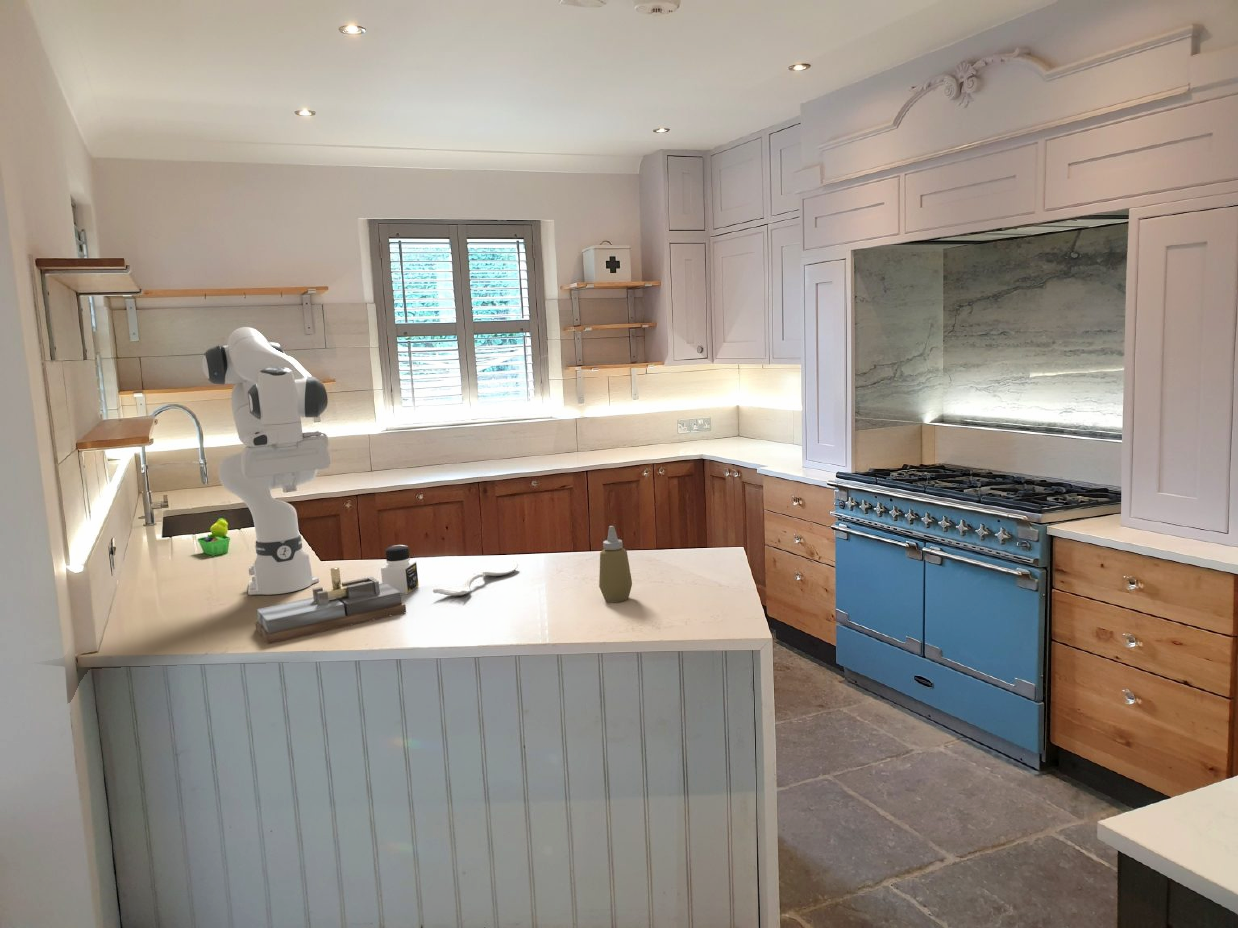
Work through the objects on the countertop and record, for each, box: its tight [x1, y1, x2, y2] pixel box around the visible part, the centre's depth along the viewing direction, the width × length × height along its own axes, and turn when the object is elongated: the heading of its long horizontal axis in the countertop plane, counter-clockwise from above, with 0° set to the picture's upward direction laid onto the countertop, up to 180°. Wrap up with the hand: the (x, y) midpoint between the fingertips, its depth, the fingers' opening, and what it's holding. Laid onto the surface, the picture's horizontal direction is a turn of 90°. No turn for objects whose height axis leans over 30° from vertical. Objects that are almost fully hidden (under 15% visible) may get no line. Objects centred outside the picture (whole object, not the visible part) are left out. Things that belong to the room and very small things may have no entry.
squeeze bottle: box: [598, 525, 633, 603], centre depth 215 cm, size 8×8×18 cm
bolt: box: [323, 566, 365, 600], centre depth 216 cm, size 2×10×7 cm, turn 123°
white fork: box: [432, 560, 519, 597], centre depth 239 cm, size 9×32×4 cm, turn 157°
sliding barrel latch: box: [254, 576, 407, 644], centre depth 214 cm, size 14×32×8 cm, turn 123°
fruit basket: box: [197, 517, 231, 557], centre depth 303 cm, size 11×9×11 cm
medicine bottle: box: [380, 544, 420, 595], centre depth 237 cm, size 7×7×12 cm
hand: (289, 491), depth 217 cm, fingers closed
